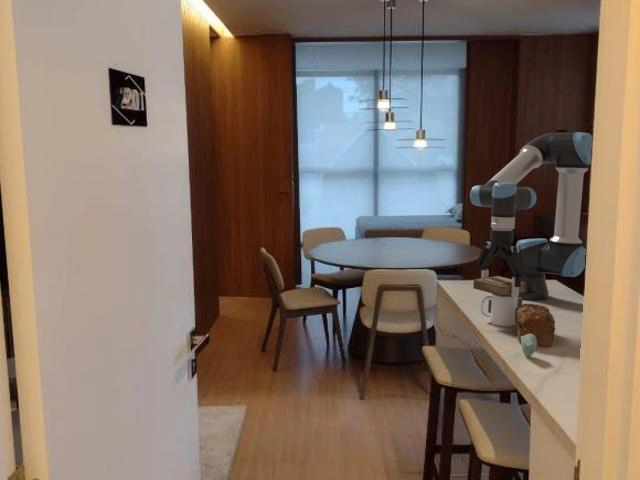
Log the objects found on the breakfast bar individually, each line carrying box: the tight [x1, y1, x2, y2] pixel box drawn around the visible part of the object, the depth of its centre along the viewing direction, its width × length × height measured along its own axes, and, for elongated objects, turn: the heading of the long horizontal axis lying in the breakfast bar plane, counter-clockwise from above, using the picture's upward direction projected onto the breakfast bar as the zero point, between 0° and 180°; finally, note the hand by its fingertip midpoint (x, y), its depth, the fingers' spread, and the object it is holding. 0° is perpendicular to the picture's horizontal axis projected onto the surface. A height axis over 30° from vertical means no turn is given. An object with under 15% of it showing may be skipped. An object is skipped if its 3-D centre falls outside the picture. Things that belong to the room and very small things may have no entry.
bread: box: [514, 303, 556, 348], centre depth 189 cm, size 19×11×10 cm, turn 165°
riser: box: [487, 297, 524, 314], centre depth 219 cm, size 11×6×5 cm, turn 123°
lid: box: [472, 275, 526, 296], centre depth 204 cm, size 12×12×3 cm
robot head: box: [520, 334, 538, 358], centre depth 171 cm, size 8×4×7 cm, turn 177°
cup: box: [479, 293, 518, 327], centre depth 205 cm, size 8×12×10 cm
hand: (499, 292), depth 204 cm, fingers open, 12 cm apart
